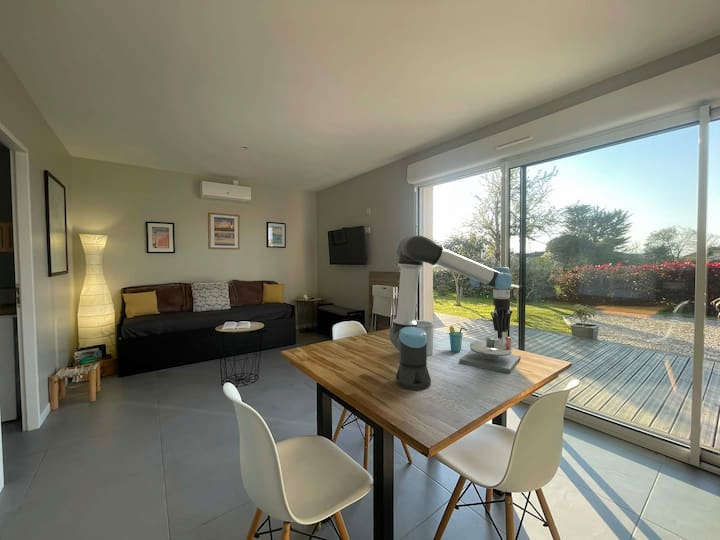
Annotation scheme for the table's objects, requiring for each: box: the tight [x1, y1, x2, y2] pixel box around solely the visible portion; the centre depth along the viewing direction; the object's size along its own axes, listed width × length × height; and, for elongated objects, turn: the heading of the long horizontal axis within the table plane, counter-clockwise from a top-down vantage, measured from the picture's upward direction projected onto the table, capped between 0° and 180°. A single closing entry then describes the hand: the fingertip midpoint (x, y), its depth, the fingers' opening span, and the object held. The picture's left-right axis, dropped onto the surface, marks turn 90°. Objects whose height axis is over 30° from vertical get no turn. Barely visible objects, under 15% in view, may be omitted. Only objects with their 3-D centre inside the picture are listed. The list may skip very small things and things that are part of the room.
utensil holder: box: [415, 319, 435, 357], centre depth 174 cm, size 15×15×18 cm
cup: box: [448, 325, 468, 353], centre depth 175 cm, size 14×8×15 cm, turn 30°
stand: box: [458, 349, 522, 374], centre depth 159 cm, size 24×24×6 cm
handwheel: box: [469, 336, 513, 356], centre depth 158 cm, size 20×20×8 cm
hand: (501, 344), depth 152 cm, fingers closed
